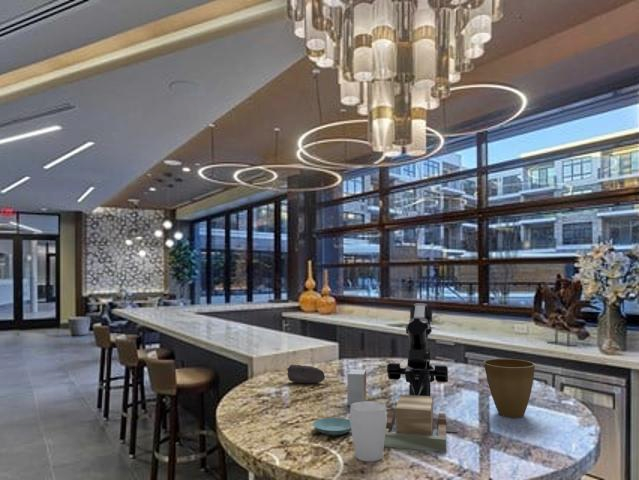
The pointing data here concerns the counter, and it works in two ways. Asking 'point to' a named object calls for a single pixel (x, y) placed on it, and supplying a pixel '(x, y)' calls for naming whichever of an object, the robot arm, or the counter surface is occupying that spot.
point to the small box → (356, 386)
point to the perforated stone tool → (305, 374)
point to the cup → (368, 429)
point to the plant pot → (510, 385)
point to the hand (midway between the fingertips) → (416, 396)
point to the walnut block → (414, 415)
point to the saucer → (333, 426)
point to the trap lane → (418, 436)
